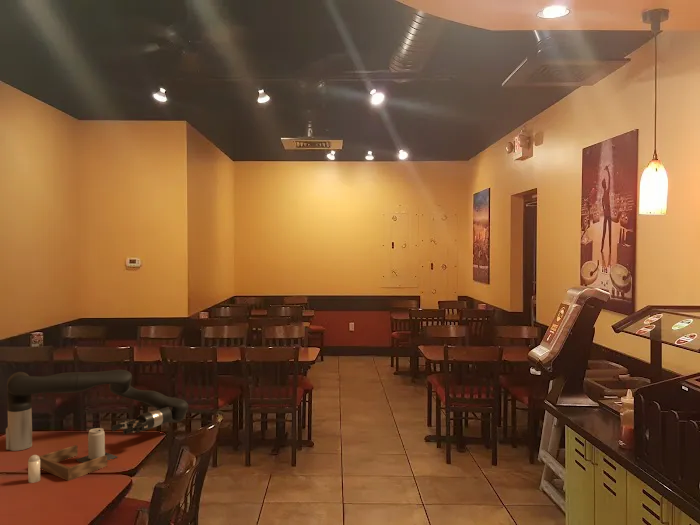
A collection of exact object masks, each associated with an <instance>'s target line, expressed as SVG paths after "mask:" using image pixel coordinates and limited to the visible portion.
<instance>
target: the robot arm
mask: <svg viewBox="0 0 700 525" xmlns="http://www.w3.org/2000/svg"><path fill="white" fill-rule="evenodd" d="M132 379H133V375H132V373H131V372H130V371H129V370H125V369H113V370H111V369H110V370H103V371H89V372H88V371H87V372H86V371H82V372H81V371H80V372H79V371H76V372H75V371H74V372H73V371H72V372H70V371H69V372H61V373H56V374H55V373H54V374H52V375H45V376H38V375H37V376H32V375H29V374H28V373H27V372H23V371H17V372H14V373H12V374H11V375H10V376H9V377H8V379H7V382H6V388H7V427H6V428H5V450H6V451H13V452H15V451H22V450H23V451H24V450H26V449H29V448H32V446H33V416H32V415H33V414H32V412H33V410H32V409H33V408H32V401H33V400H32V399H33V398H32V395H34V394H35V395H36V394H45V393H46V394H48V393H49V394H72V393H74V394H75V393H76V394H77V393H81V392H85V391H87V390H90V389H92V388H93V387H94V388H95V387H97V386H100V385H109V387H108V388H109V391H110V392H111V393H113V394H114V395H117V396H119V397H124V398H127V399H131V400H133V401H137V402H140V403H144V404H146V405H149V406H150V407H153V408H154V410H151V411H147V412H144V413H141V414H138V416H137V417H136V419H135V418H134V419H131V418H127V419H124V420H123V419H122V420H120V421H119V420H118V421H117V424H114V425H113V424H112V426H111V431H112V432H115V431H118V430H120V429H122V432H123V435H129V434H131V433H141V432H142V431H143V432H145V431H147V430H150V429H154V428H157V427H158V426H161V425H163V424H167V423H180V422H182V421H183V420H184V419H185V416H186V415H187V413H188V410H189V407H190V406H189V403H188V402H187V401H186V400H185V399H182V398H176V397H171V396H167V395H165V394H163V393H162V392H158V391H156V390H145V389H144V390H142V389H138V388H135V387H133V386H132V385H131V383H132ZM170 408H171V409H170ZM155 409H156V410H155Z"/></svg>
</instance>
